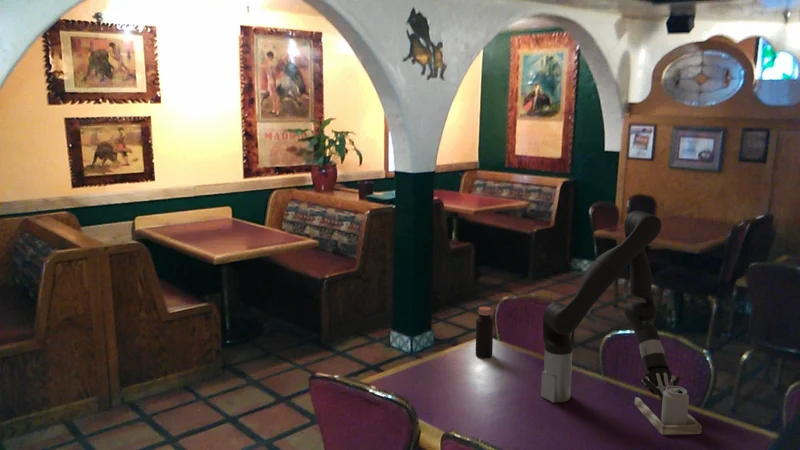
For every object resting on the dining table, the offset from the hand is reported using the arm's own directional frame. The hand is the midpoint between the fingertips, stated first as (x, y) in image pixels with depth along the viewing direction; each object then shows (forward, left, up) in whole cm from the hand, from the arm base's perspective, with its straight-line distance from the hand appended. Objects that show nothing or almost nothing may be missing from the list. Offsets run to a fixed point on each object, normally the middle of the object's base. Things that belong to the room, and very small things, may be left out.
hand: (667, 406), depth 205 cm
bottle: (-15, +73, -4) cm, 74 cm away
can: (-2, -4, -4) cm, 6 cm away
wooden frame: (0, 0, -4) cm, 4 cm away
